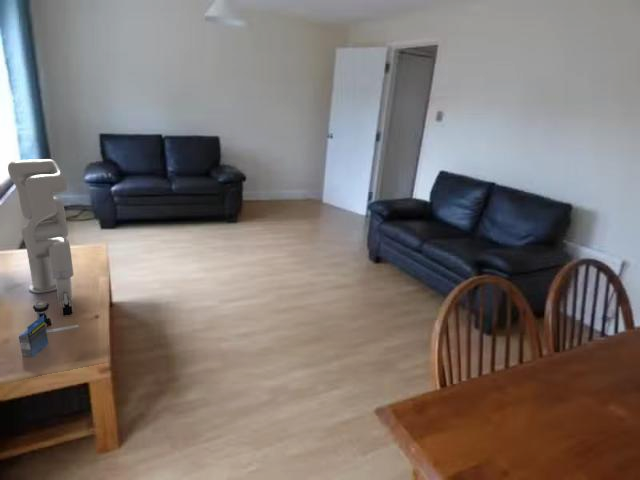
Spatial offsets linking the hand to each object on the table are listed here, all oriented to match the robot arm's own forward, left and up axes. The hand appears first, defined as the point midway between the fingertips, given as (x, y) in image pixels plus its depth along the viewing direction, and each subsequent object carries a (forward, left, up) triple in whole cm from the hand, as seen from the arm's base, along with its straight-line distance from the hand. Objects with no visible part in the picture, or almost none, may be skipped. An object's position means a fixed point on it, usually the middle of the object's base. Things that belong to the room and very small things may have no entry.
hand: (67, 311), depth 176 cm
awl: (0, 0, -1) cm, 1 cm away
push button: (+7, -9, -1) cm, 12 cm away
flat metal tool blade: (+12, -4, -1) cm, 13 cm away
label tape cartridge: (+24, -11, -1) cm, 26 cm away
